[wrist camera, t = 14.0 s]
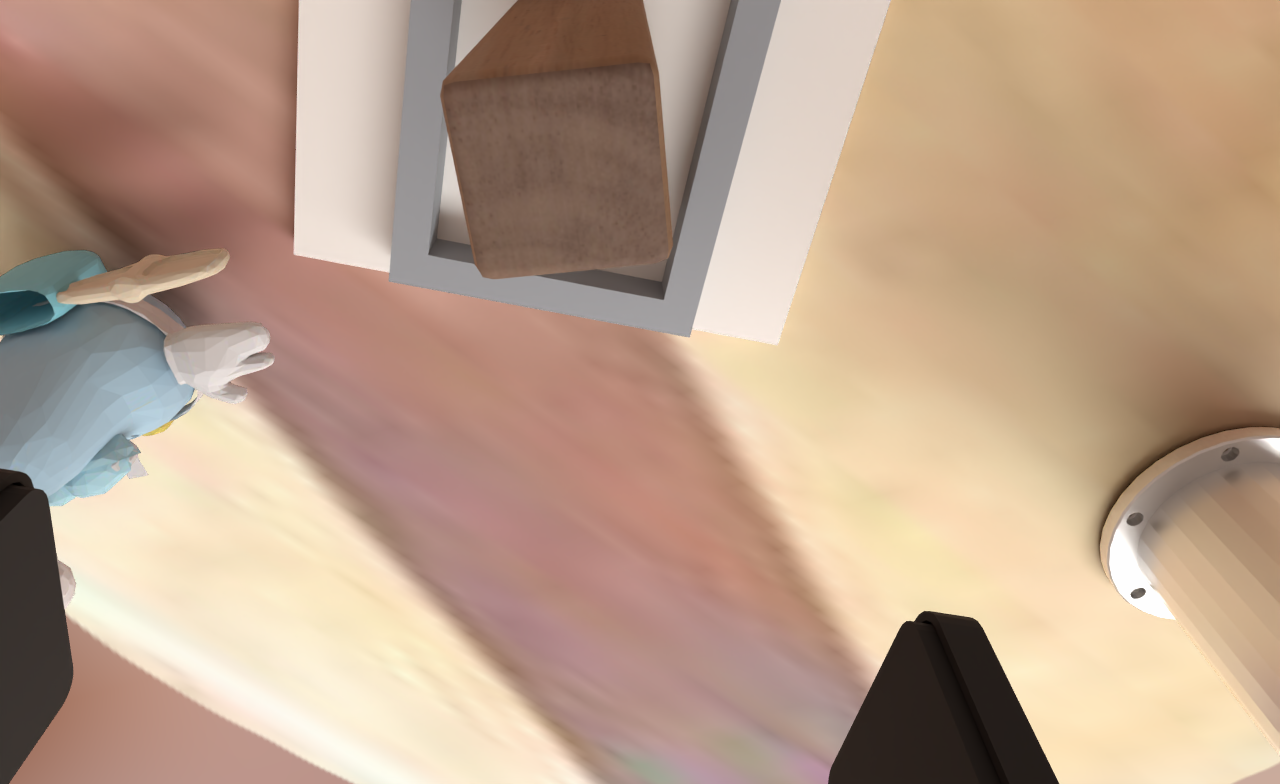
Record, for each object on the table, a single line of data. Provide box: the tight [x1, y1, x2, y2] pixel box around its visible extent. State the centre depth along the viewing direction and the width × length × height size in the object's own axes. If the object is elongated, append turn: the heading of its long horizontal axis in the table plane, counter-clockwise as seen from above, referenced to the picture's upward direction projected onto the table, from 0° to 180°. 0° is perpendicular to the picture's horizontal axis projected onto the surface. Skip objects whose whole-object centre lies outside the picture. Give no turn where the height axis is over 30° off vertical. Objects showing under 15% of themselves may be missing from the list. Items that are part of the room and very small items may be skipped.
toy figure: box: [0, 248, 274, 609], centre depth 34 cm, size 17×10×15 cm, turn 102°
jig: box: [294, 0, 891, 345], centre depth 34 cm, size 22×18×3 cm
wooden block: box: [440, 0, 673, 279], centre depth 27 cm, size 9×4×18 cm, turn 6°
